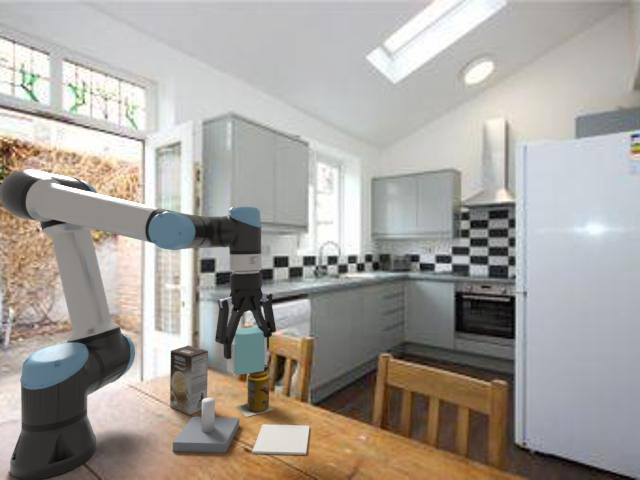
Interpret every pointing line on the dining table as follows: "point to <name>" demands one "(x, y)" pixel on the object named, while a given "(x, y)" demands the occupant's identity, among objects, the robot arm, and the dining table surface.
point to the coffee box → (188, 378)
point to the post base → (206, 439)
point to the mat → (282, 439)
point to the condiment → (257, 394)
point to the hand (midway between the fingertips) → (247, 367)
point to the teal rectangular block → (249, 350)
